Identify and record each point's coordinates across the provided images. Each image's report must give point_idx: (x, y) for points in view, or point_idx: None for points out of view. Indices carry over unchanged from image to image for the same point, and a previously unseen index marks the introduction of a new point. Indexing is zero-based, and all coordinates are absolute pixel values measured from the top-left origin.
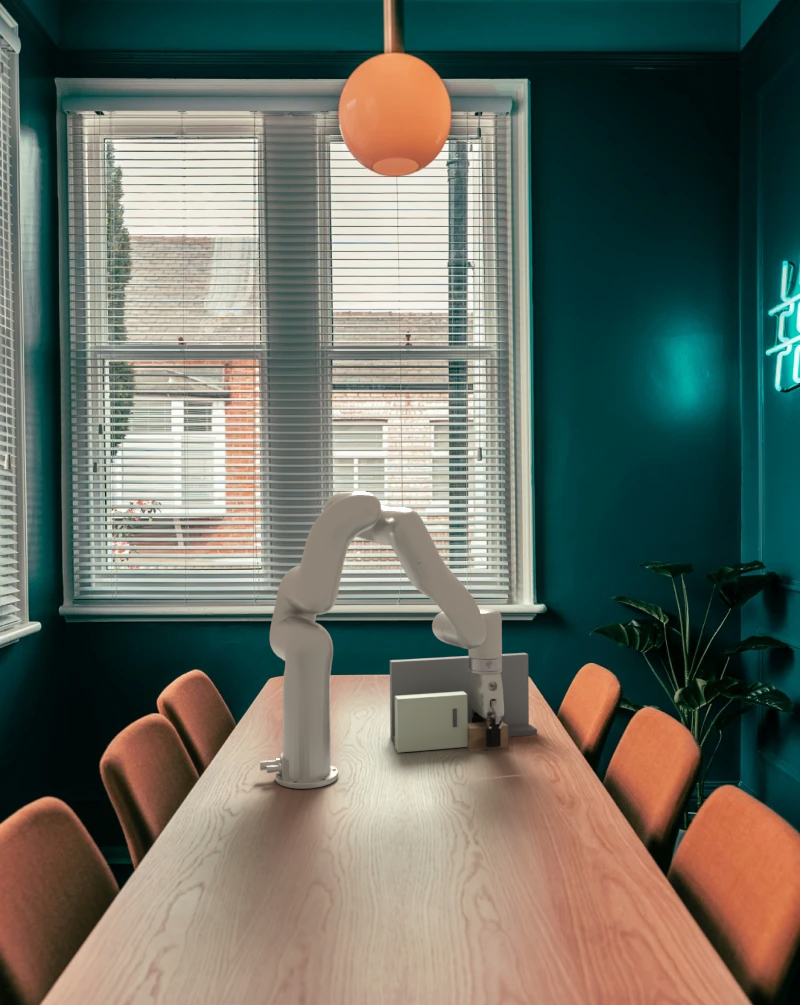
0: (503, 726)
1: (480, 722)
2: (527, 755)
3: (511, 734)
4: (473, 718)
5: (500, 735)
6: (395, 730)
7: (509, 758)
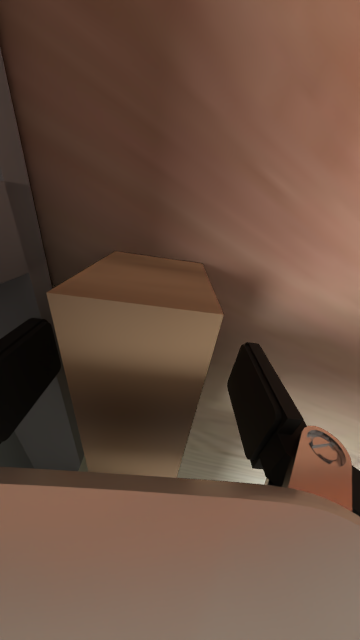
0: (211, 345)
1: (81, 427)
2: (346, 229)
3: (5, 122)
4: (2, 439)
5: (279, 379)
6: None
7: (314, 321)
